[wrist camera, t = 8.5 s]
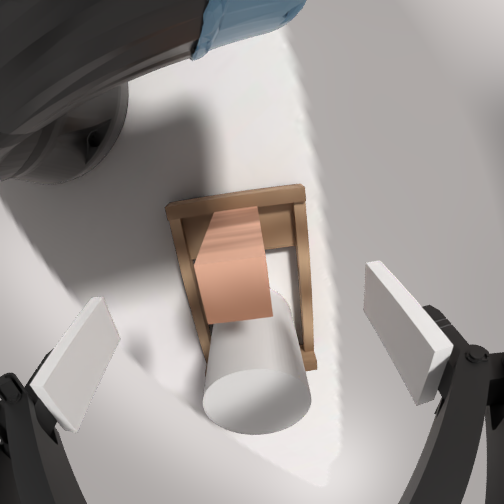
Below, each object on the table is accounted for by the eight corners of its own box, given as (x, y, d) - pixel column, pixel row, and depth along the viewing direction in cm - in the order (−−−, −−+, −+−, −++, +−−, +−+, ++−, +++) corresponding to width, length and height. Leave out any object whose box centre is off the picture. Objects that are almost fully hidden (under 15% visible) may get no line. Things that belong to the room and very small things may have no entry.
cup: (236, 357, 34) (234, 442, 23) (200, 304, 31) (181, 388, 20) (302, 331, 33) (324, 416, 21) (272, 272, 30) (287, 353, 19)
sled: (169, 202, 26) (115, 256, 15) (300, 183, 26) (345, 224, 14) (209, 363, 33) (199, 453, 22) (311, 350, 33) (335, 439, 21)
